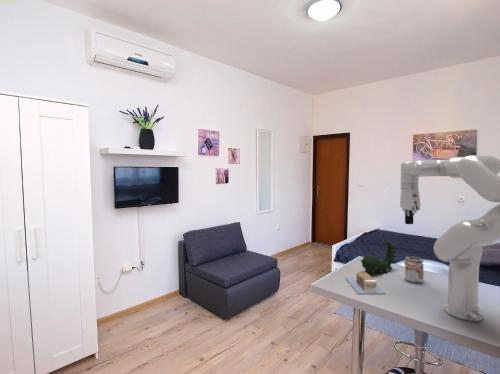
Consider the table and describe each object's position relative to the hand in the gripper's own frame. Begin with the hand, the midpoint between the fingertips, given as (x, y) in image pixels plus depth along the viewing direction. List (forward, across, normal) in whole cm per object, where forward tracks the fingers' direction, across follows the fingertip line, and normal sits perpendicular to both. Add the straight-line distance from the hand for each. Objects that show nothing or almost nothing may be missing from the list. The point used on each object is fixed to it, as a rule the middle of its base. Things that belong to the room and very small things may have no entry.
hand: (409, 223), depth 133 cm
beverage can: (+32, +8, -7) cm, 34 cm away
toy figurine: (+32, +21, +6) cm, 39 cm away
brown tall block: (+29, +6, +21) cm, 36 cm away
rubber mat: (+32, +2, +21) cm, 38 cm away
